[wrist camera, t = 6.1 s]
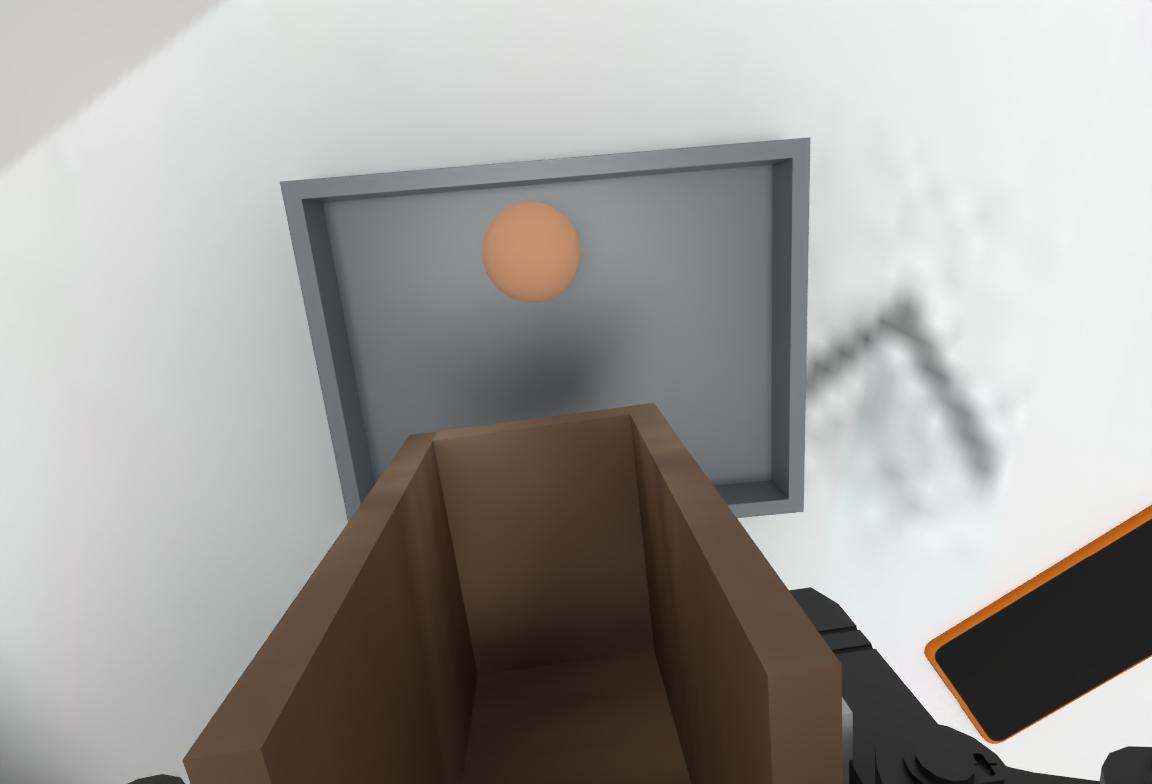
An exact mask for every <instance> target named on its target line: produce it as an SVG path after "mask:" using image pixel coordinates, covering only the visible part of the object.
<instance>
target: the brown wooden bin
mask: <svg viewBox="0 0 1152 784" xmlns="http://www.w3.org/2000/svg"><path fill="white" fill-rule="evenodd" d="M183 763H184V766H185V769H186V771H187V774H188V777H189V780H190V783H191V784H843V761H842V664H841V663H840V661H839V660H838V659H837V657H836V656H835V654H834V653H833V652H832V650H831V649H830V647H829V646H828V645H827V643H826V642H825V640H824V639H823V638H822V636H821V635H820V633H819V632H818V631H817V629H816V628H815V626H814V625H813V624H812V622H811V621H810V620H809V618H808V617H807V615H806V614H805V613H804V611H803V610H802V608H801V607H800V606H799V604H798V603H797V601H796V600H795V599H794V597H793V596H792V594H791V593H790V592H789V590H788V589H787V587H786V586H785V585H784V583H783V582H782V580H781V579H780V578H779V576H778V575H777V574H776V572H775V571H774V569H773V568H772V567H771V565H770V564H769V562H768V561H767V560H766V558H765V557H764V555H763V554H762V553H761V551H760V550H759V548H758V547H757V546H756V544H755V543H754V541H753V540H752V539H751V537H750V536H749V535H748V533H747V532H746V530H745V529H744V528H743V526H742V525H741V523H740V522H739V521H738V519H737V518H736V516H735V515H734V514H733V512H732V511H731V509H730V508H729V507H728V505H727V504H726V502H725V501H724V500H723V498H722V497H721V495H720V494H719V493H718V491H717V490H716V489H715V487H714V486H713V484H712V483H711V482H710V480H709V479H708V477H707V476H706V475H705V473H704V472H703V470H702V469H701V468H700V466H699V465H698V463H697V462H696V461H695V459H694V458H693V456H692V455H691V454H690V452H689V451H688V450H687V448H686V447H685V445H684V444H683V443H682V441H681V440H680V438H679V437H678V436H677V434H676V433H675V431H674V430H673V429H672V427H671V426H670V424H669V423H668V422H667V420H666V419H665V417H664V416H663V415H662V413H661V412H660V410H659V409H658V408H657V406H656V405H655V404H654V403H648V404H641V405H633V406H626V407H618V408H610V409H603V410H595V411H588V412H580V413H573V414H565V415H558V416H550V417H542V418H535V419H527V420H520V421H512V422H505V423H497V424H490V425H482V426H474V427H467V428H459V429H452V430H444V431H437V432H429V433H422V434H414V435H409V437H408V438H407V439H406V441H405V442H404V444H403V445H402V447H401V448H400V449H399V451H398V452H397V454H396V455H395V457H394V458H393V459H392V461H391V462H390V464H389V465H388V467H387V468H386V469H385V471H384V472H383V474H382V475H381V477H380V478H379V479H378V481H377V482H376V484H375V485H374V487H373V488H372V490H371V491H370V492H369V494H368V495H367V497H366V498H365V500H364V501H363V502H362V504H361V505H360V507H359V508H358V510H357V511H356V512H355V514H354V515H353V517H352V518H351V520H350V521H349V522H348V524H347V525H346V527H345V528H344V530H343V531H342V533H341V534H340V535H339V537H338V538H337V540H336V541H335V543H334V544H333V545H332V547H331V548H330V550H329V551H328V553H327V554H326V555H325V557H324V558H323V560H322V561H321V563H320V564H319V565H318V567H317V568H316V570H315V571H314V573H313V574H312V575H311V577H310V578H309V580H308V581H307V583H306V584H305V586H304V587H303V588H302V590H301V591H300V593H299V594H298V596H297V597H296V598H295V600H294V601H293V603H292V604H291V606H290V607H289V608H288V610H287V611H286V613H285V614H284V616H283V617H282V618H281V620H280V621H279V623H278V624H277V626H276V627H275V628H274V630H273V631H272V633H271V634H270V636H269V637H268V639H267V640H266V641H265V643H264V644H263V646H262V647H261V649H260V650H259V651H258V653H257V654H256V656H255V657H254V659H253V660H252V661H251V663H250V664H249V666H248V667H247V669H246V670H245V671H244V673H243V674H242V676H241V677H240V679H239V680H238V681H237V683H236V684H235V686H234V687H233V689H232V690H231V692H230V693H229V694H228V696H227V697H226V699H225V700H224V702H223V703H222V704H221V706H220V707H219V709H218V710H217V712H216V713H215V714H214V716H213V717H212V719H211V720H210V722H209V723H208V724H207V726H206V727H205V729H204V730H203V732H202V733H201V734H200V736H199V737H198V739H197V740H196V742H195V743H194V745H193V746H192V747H191V749H190V750H189V752H188V753H187V755H186V756H185V757H184V759H183Z"/></svg>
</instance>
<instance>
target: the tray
mask: <svg viewBox="0 0 1152 784" xmlns="http://www.w3.org/2000/svg"><path fill="white" fill-rule="evenodd" d="M809 180H810V138H799V139H787V140H775V141H763V142H751V143H739V144H728V145H716V146H704V147H692V148H680V149H668V150H656V151H644V152H632V153H620V154H608V155H596V156H584V157H572V158H560V159H548V160H536V161H524V162H512V163H500V164H488V165H476V166H464V167H452V168H440V169H428V170H416V171H404V172H392V173H380V174H368V175H356V176H344V177H332V178H320V179H308V180H296V181H284V182H280V185H281V190H282V195H283V200H284V205H285V210H286V215H287V220H288V225H289V230H290V235H291V240H292V245H293V250H294V254H295V259H296V264H297V269H298V274H299V279H300V284H301V289H302V294H303V299H304V304H305V309H306V314H307V319H308V324H309V329H310V334H311V339H312V344H313V349H314V354H315V359H316V364H317V369H318V374H319V379H320V384H321V389H322V394H323V399H324V404H325V409H326V414H327V419H328V424H329V428H330V433H331V438H332V443H333V448H334V453H335V458H336V463H337V468H338V473H339V478H340V483H341V488H342V493H343V498H344V503H345V508H346V513H347V518H348V522H349V521H350V520H351V518H352V517H353V515H354V514H355V512H356V511H357V510H358V508H359V507H360V505H361V504H362V502H363V501H364V500H365V498H366V497H367V495H368V494H369V492H370V491H371V490H372V488H373V487H374V485H375V484H376V482H377V481H378V479H379V478H380V477H381V475H382V474H383V472H384V471H385V469H386V468H387V467H388V465H389V464H390V462H391V461H392V459H393V458H394V457H395V455H396V454H397V452H398V451H399V449H400V448H401V447H402V445H403V444H404V442H405V441H406V439H407V438H408V437H409V435H414V434H422V433H429V432H437V431H444V430H452V429H459V428H467V427H474V426H482V425H490V424H497V423H505V422H512V421H520V420H527V419H535V418H542V417H550V416H558V415H565V414H573V413H580V412H588V411H595V410H603V409H610V408H618V407H626V406H633V405H641V404H648V403H654V404H655V405H656V406H657V408H658V409H659V410H660V412H661V413H662V415H663V416H664V417H665V419H666V420H667V422H668V423H669V424H670V426H671V427H672V429H673V430H674V431H675V433H676V434H677V436H678V437H679V438H680V440H681V441H682V443H683V444H684V445H685V447H686V448H687V450H688V451H689V452H690V454H691V455H692V456H693V458H694V459H695V461H696V462H697V463H698V465H699V466H700V468H701V469H702V470H703V472H704V473H705V475H706V476H707V477H708V479H709V480H710V482H711V483H712V484H713V486H714V487H715V489H716V490H717V491H718V493H719V494H720V495H721V497H722V498H723V500H724V501H725V502H726V504H727V505H728V507H729V508H730V509H731V511H732V512H733V514H734V515H735V516H736V518H742V517H752V516H763V515H773V514H784V513H795V512H803V508H804V453H805V399H806V344H807V289H808V235H809ZM522 202H540V203H544V204H547V205H550V206H552V207H554V208H556V209H557V210H559V211H560V212H562V213H563V214H564V215H565V216H566V217H567V218H568V219H569V220H570V222H571V223H572V225H573V226H574V228H575V230H576V232H577V234H578V237H579V241H580V247H581V259H580V265H579V269H578V272H577V274H576V276H575V278H574V280H573V281H572V282H571V284H570V285H569V286H568V287H567V288H566V289H565V290H564V291H563V292H562V293H561V294H559V295H558V296H556V297H554V298H552V299H550V300H547V301H543V302H536V303H528V302H522V301H518V300H515V299H513V298H511V297H509V296H507V295H506V294H504V293H503V292H502V291H500V290H499V289H498V288H497V287H496V286H495V285H494V283H493V282H492V281H491V279H490V277H489V276H488V274H487V271H486V269H485V266H484V262H483V254H482V250H483V241H484V237H485V234H486V231H487V229H488V227H489V225H490V224H491V222H492V221H493V220H494V218H495V217H496V216H497V215H498V214H499V213H500V212H502V211H503V210H505V209H506V208H508V207H510V206H512V205H515V204H518V203H522Z"/></svg>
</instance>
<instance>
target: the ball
mask: <svg viewBox="0 0 1152 784" xmlns="http://www.w3.org/2000/svg"><path fill="white" fill-rule="evenodd" d="M482 254H483V262H484V266H485V269H486V271H487V274H488V276H489V277H490V279H491V281H492V282H493V283H494V285H495V286H496V287H497V288H498V289H499V290H500V291H502V292H503V293H504V294H506V295H507V296H509V297H511V298H513V299H515V300H518V301H522V302H528V303H536V302H543V301H547V300H550V299H552V298H554V297H556V296H558V295H559V294H561V293H562V292H563V291H564V290H565V289H566V288H567V287H568V286H569V285H570V284H571V282H572V281H573V280H574V278H575V276H576V274H577V272H578V269H579V265H580V259H581V247H580V241H579V237H578V234H577V232H576V230H575V228H574V226H573V225H572V223H571V222H570V220H569V219H568V218H567V217H566V216H565V215H564V214H563V213H562V212H560V211H559V210H557V209H556V208H554V207H552V206H550V205H547V204H544V203H540V202H522V203H518V204H515V205H512V206H510V207H508V208H506V209H505V210H503V211H502V212H500V213H499V214H498V215H497V216H496V217H495V218H494V220H493V221H492V222H491V224H490V225H489V227H488V229H487V231H486V234H485V237H484V241H483V250H482Z"/></svg>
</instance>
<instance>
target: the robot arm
mask: <svg viewBox="0 0 1152 784" xmlns="http://www.w3.org/2000/svg"><path fill="white" fill-rule="evenodd" d="M789 592H790V593H791V594H792V596H793V597H794V599H795V600H796V601H797V603H798V604H799V606H800V607H801V608H802V610H803V611H804V613H805V614H806V615H807V617H808V618H809V620H810V621H811V622H812V624H813V625H814V626H815V628H816V629H817V631H818V632H819V633H820V635H821V636H822V638H823V639H824V640H825V642H826V643H827V645H828V646H829V647H830V649H831V650H832V652H833V653H834V654H835V656H836V657H837V659H838V660H839V661H840V663H841V664H842V761H843V784H1152V747H1131V746H1128V747H1125V748H1123V749H1120V750H1117V751H1114V752H1112V753H1109V755H1108V757H1107V759H1106V760H1105V762H1104V764H1103V766H1102V769H1101V776H1100V781H1093V780H1085V779H1078V778H1070V777H1063V776H1055V775H1048V774H1040V773H1033V772H1029V771H1024V770H1019V769H1015V768H1010V767H1007V766H1006V765H1005V764H1004V763H1003V762H1002V761H1001V759H1000V758H999V757H998V756H997V755H996V754H995V753H994V752H992V751H991V750H990V749H988V748H987V747H986V746H984V745H983V744H981V743H980V742H979V741H977V740H976V739H975V738H973V737H971V736H968V735H966V734H964V733H962V732H959V731H957V730H955V729H953V728H950V727H948V726H944V725H938V724H937V722H936V721H935V720H934V719H933V718H932V716H931V715H930V714H929V713H928V712H927V710H926V709H925V708H924V707H923V706H922V704H921V703H920V702H919V701H918V700H917V698H916V697H915V696H914V695H913V694H912V692H911V691H910V690H909V689H908V688H907V686H906V685H905V684H904V683H903V681H902V680H901V679H900V678H899V677H898V675H897V674H896V673H895V672H894V671H893V669H892V668H891V667H890V666H889V665H888V663H887V662H886V661H885V660H884V659H883V657H882V656H881V655H880V654H879V653H878V651H877V650H876V649H873V648H872V644H871V643H870V642H869V640H868V639H867V638H866V637H865V636H864V634H863V633H862V632H861V631H860V630H857V628H856V625H855V624H854V622H853V621H852V620H851V619H850V618H849V616H848V615H847V614H846V613H845V612H844V610H843V609H842V608H841V607H840V606H839V604H837V603H836V602H834V601H832V600H831V599H829V598H828V597H826V596H824V595H823V594H821V593H819V592H818V591H816V590H814V589H813V588H804V589H797V590H790V591H789ZM128 784H185V783H184V782H183V780H182V779H181V778H180V777H175V776H170V775H164V774H161V775H156V776H151V777H146V778H141V779H137V780H135V781H132V782H130V783H128Z"/></svg>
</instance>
